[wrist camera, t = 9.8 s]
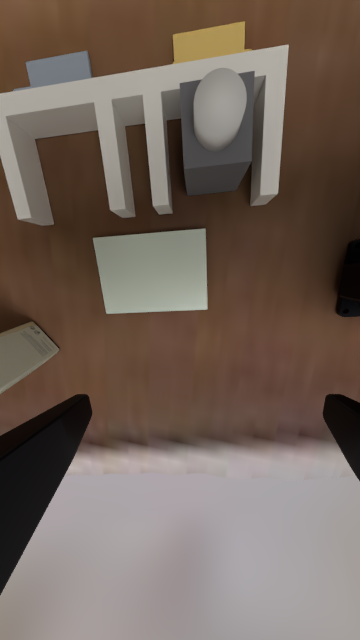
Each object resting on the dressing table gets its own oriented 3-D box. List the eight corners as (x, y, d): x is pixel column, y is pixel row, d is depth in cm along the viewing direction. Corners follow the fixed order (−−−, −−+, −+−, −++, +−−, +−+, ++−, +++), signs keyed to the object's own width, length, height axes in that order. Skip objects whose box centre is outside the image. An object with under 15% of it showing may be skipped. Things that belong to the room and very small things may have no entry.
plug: (236, 130, 14) (264, 40, 9) (235, 190, 15) (259, 146, 10) (184, 137, 15) (176, 55, 9) (187, 196, 16) (182, 156, 10)
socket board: (275, 20, 12) (294, -38, 10) (265, 204, 15) (277, 193, 13) (4, 70, 14) (-34, 31, 12) (42, 225, 17) (17, 219, 15)
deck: (205, 229, 16) (205, 228, 16) (207, 308, 18) (207, 309, 18) (96, 238, 17) (92, 237, 17) (109, 312, 19) (106, 313, 19)
